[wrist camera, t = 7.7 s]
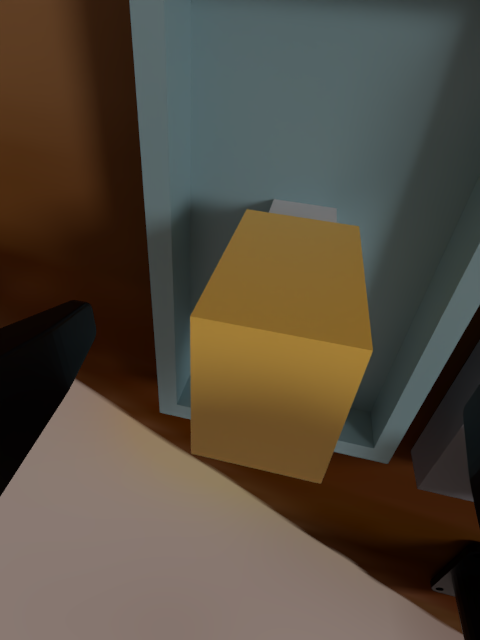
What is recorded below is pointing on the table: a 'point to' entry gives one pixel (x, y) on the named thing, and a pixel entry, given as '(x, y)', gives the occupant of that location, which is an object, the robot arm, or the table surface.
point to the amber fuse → (280, 342)
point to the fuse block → (448, 438)
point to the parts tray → (317, 169)
